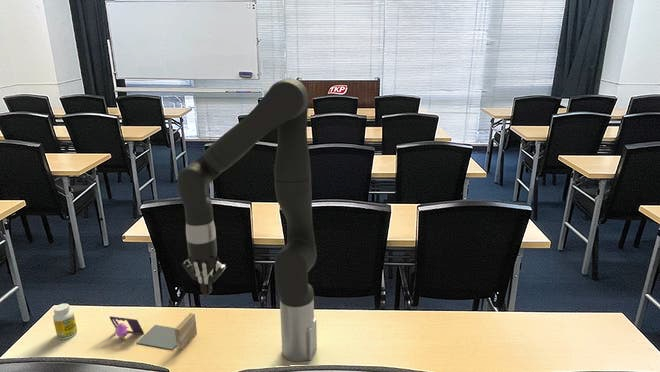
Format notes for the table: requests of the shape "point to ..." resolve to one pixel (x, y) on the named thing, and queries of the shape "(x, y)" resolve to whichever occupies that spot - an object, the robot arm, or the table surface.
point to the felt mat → (159, 337)
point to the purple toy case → (122, 328)
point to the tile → (185, 331)
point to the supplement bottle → (64, 321)
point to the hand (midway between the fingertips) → (206, 293)
